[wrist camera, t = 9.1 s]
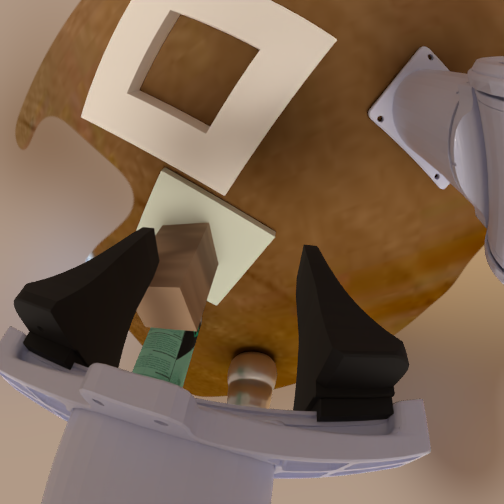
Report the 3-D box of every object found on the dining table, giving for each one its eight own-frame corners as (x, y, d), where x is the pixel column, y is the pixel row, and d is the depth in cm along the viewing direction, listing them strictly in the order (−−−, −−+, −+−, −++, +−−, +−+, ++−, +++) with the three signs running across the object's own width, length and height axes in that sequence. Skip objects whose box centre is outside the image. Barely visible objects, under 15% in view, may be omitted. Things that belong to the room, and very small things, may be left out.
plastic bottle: (221, 355, 38) (192, 490, 22) (255, 339, 34) (232, 496, 18) (253, 373, 40) (235, 498, 24) (288, 360, 36) (276, 501, 21)
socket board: (332, 42, 14) (337, 39, 13) (229, 185, 22) (224, 196, 21) (167, -32, 11) (157, -39, 10) (94, 111, 19) (80, 117, 17)
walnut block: (209, 222, 24) (179, 287, 17) (218, 263, 26) (197, 331, 20) (162, 225, 24) (122, 285, 18) (175, 264, 27) (145, 326, 21)
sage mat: (275, 231, 24) (275, 236, 24) (218, 300, 31) (216, 305, 30) (165, 167, 22) (161, 170, 21) (130, 252, 28) (126, 256, 27)
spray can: (160, 321, 35) (108, 462, 19) (160, 293, 31) (94, 454, 15) (199, 332, 35) (159, 480, 19) (204, 306, 32) (155, 478, 16)
